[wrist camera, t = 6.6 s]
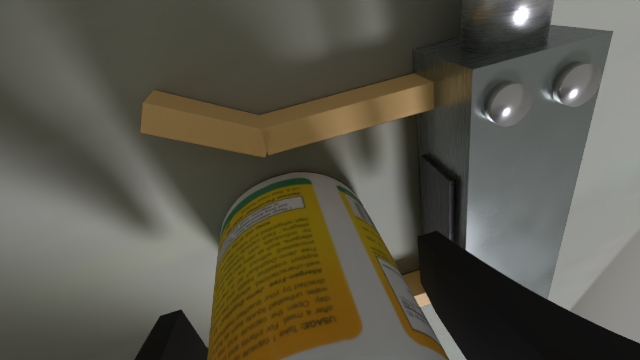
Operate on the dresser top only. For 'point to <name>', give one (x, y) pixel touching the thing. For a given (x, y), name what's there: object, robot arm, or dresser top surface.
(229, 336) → the supplement bottle
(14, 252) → the dresser top surface
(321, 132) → the guard rails
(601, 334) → the robot arm
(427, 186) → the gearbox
